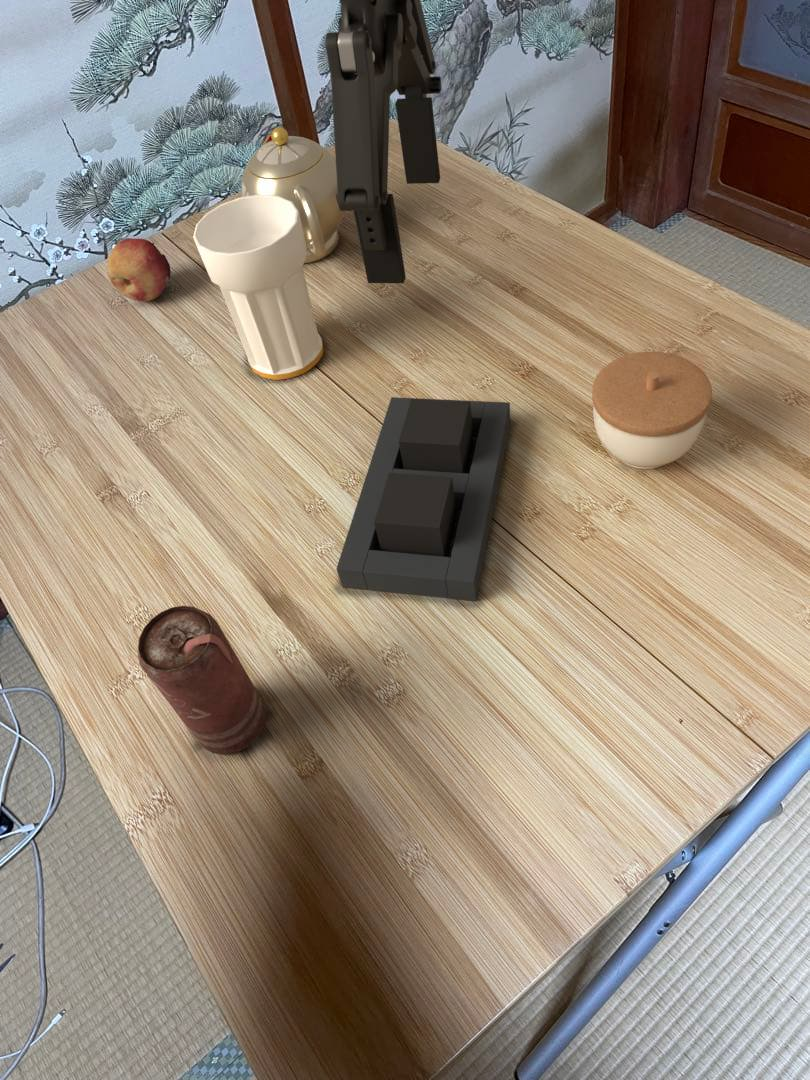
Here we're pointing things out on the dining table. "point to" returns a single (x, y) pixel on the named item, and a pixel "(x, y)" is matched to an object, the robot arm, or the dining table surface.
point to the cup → (263, 281)
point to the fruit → (138, 269)
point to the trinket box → (650, 407)
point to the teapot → (299, 186)
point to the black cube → (437, 436)
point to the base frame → (472, 499)
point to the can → (202, 679)
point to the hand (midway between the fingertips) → (406, 228)
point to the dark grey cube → (417, 515)
